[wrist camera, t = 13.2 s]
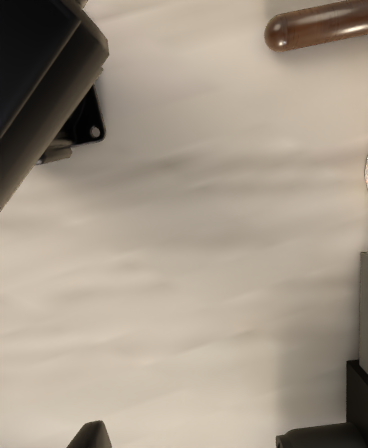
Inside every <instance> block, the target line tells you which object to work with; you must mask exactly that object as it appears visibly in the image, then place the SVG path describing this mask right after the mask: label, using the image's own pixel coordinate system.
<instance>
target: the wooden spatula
mask: <svg viewBox="0 0 368 448" xmlns="http://www.w3.org/2000/svg"><path fill="white" fill-rule="evenodd" d="M365 34H368V0H346V1H341V2H337V3H332V4H327V5H322V6H317V7H312V8H308V9H303V10H298V11H293V12H288V13H283V14H279V15H277V16H275V17H273V18H272V19H271V20H270V21H269V23H268V24H267V26H266V29H265V33H264V38H265V42H266V44H267V46H268V47H269V48H270V49H271V50H273V51H276V52H283V51H288V50H292V49H297V48H302V47H307V46H312V45H317V44H322V43H326V42H331V41H336V40H341V39H346V38H351V37H356V36H361V35H365Z"/></svg>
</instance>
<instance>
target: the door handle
mask: <svg viewBox="0 0 368 448" xmlns="http://www.w3.org/2000/svg"><path fill="white" fill-rule="evenodd" d="M276 448H368V252H361V278H360V357H359V360H352V361H347V388H346V423H340V424H332V425H324V426H316V427H309V428H301V429H294V430H291V431H289V432H288V433H286V434H285V435H280V436H276Z"/></svg>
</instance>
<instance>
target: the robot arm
mask: <svg viewBox="0 0 368 448" xmlns="http://www.w3.org/2000/svg"><path fill="white" fill-rule="evenodd" d="M87 1H88V0H0V212H1V210H2V209H3V208H4V206H5V205H6V204H7V202H8V201H9V199H10V198H11V197H12V195H13V194H14V193H15V191H16V190H17V188H18V187H19V186H20V184H21V183H22V182H23V180H24V179H25V177H26V176H27V175H28V173H29V172H30V170H31V169H32V168H33V166H34V165H39V164H44V163H48V162H53V161H57V160H61V159H65V158H70V156H71V154H72V150H71V148H72V147H77V146H82V145H87V144H92V143H97V142H100V141H103V140H104V138H105V136H106V128H105V125H104V121H103V117H102V113H101V109H100V105H99V101H98V97H97V93H96V89H95V85H94V82H95V81H96V80H97V78H98V77H99V75H100V74H101V73H102V71H103V68H102V67H101V66H102V65H103V63H104V62H105V61H106V59H107V58H108V56H109V49H108V41H107V39H106V37H105V36H104V35H103V33H102V32H101V31H100V30H99V28H98V27H97V26H96V25H95V23H94V22H93V21H92V20H91V19H90V18H89V17H88V15H87V14H86V13H85V12H84V11H83V10H82V9H83V8H84V6H85V5H86V3H87ZM95 127H97V128H98V129H99V130H100V135H99V136H98V137H94V136H93V134H92V130H93V128H95ZM67 448H112V445H111V442H110V439H109V436H108V433H107V430H106V427H105V424H104V422H103V421H100V420H99V421H94V422H89V423H86V424H85V425H83V427H82V428H81V429H80V431H79V432H78V433H77V434H76V436H75V437H74V438H73V440H72V441H71V442H70V444H69V445H68V446H67Z"/></svg>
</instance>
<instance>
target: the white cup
mask: <svg viewBox="0 0 368 448" xmlns="http://www.w3.org/2000/svg"><path fill="white" fill-rule="evenodd" d="M365 178H366V183H367V187H368V158H367V164H366V169H365Z"/></svg>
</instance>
